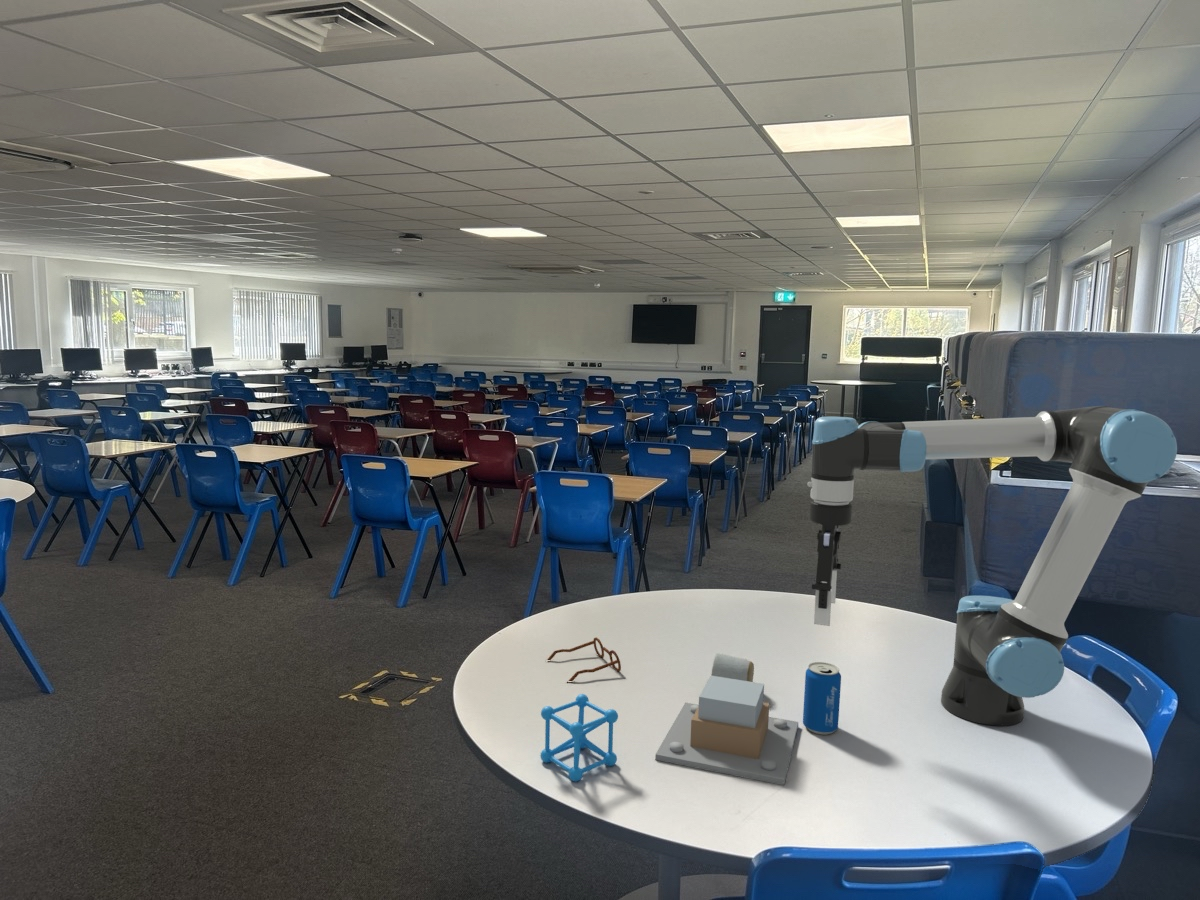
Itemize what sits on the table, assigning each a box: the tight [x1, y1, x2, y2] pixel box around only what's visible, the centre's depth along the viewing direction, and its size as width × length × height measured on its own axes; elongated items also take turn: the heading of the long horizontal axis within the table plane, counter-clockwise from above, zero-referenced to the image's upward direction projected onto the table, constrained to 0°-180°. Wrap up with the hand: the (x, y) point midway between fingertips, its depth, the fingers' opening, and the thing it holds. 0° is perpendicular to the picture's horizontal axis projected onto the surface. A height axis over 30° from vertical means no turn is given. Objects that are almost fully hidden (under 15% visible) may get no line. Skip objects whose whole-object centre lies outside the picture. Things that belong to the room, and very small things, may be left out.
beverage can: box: [802, 661, 842, 735], centre depth 151 cm, size 6×6×12 cm
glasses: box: [546, 637, 622, 682], centre depth 178 cm, size 13×13×5 cm
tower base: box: [655, 675, 799, 786], centre depth 145 cm, size 22×22×10 cm
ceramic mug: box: [710, 652, 755, 682], centre depth 169 cm, size 11×8×8 cm
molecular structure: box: [539, 693, 619, 782], centre depth 137 cm, size 10×10×10 cm
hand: (825, 613), depth 150 cm, fingers open, 13 cm apart
